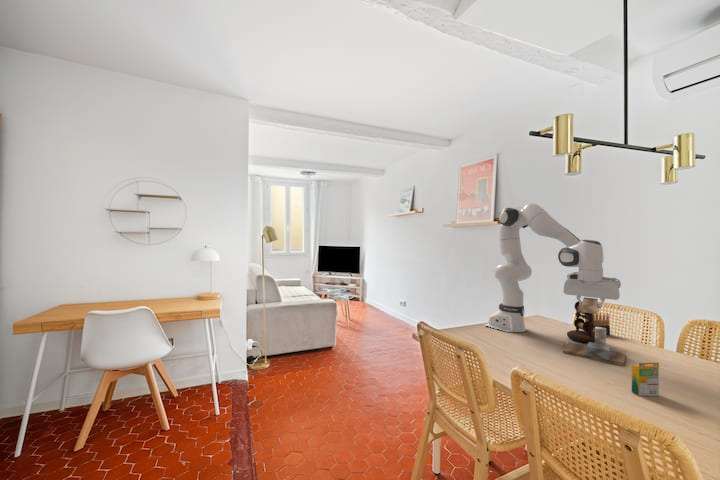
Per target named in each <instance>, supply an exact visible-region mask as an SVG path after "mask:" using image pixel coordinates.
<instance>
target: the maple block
mask: <svg viewBox="0 0 720 480" xmlns="http://www.w3.org/2000/svg"><path fill="white" fill-rule="evenodd" d="M582 302H583V312H585V313H592V314H594V315H596V314H598V311H599V308H597V304H599V298H594V297H585V296H583V298H582Z"/></svg>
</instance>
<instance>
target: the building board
mask: <svg viewBox="0 0 720 480" xmlns="http://www.w3.org/2000/svg"><path fill="white" fill-rule="evenodd" d="M562 353H563V354H567V355H572V356H576V357H582V358H585V359H589V360H590V359H591V360H593V361H600V362H605V363H608V364H609V363H610V364H612V365H613V364H614V365H618V366H623V367H624V366H625V360H626V359H625V358H626V352H625V351H618V350H614V349H611V345H608V344H607V335H606V328H603V327H595V342H587V344H583V343H576V342H573V341H572V342H571V341H568V342H567V344H565V346H564V347H563V350H562Z"/></svg>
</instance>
